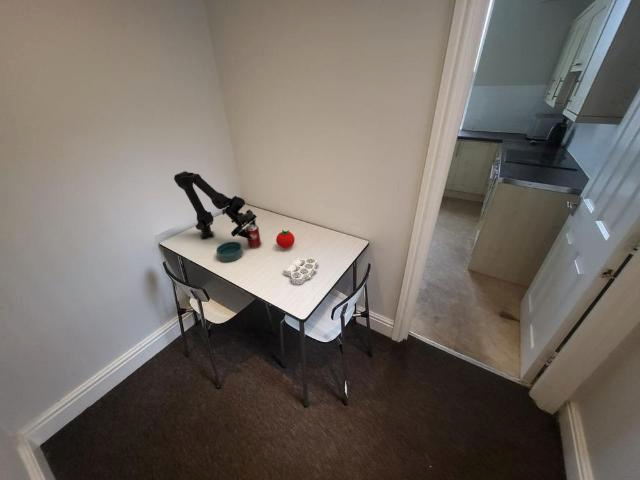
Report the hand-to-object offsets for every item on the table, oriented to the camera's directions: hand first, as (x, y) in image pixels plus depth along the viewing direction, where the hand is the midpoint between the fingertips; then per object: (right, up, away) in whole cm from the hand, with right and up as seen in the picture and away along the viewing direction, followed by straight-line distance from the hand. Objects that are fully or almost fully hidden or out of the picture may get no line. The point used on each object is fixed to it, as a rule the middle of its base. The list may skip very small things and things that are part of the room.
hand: (255, 236), depth 143 cm
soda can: (-1, -5, +4) cm, 7 cm away
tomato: (+17, -6, +3) cm, 18 cm away
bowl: (-12, -10, -4) cm, 17 cm away
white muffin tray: (+27, -18, -16) cm, 37 cm away
